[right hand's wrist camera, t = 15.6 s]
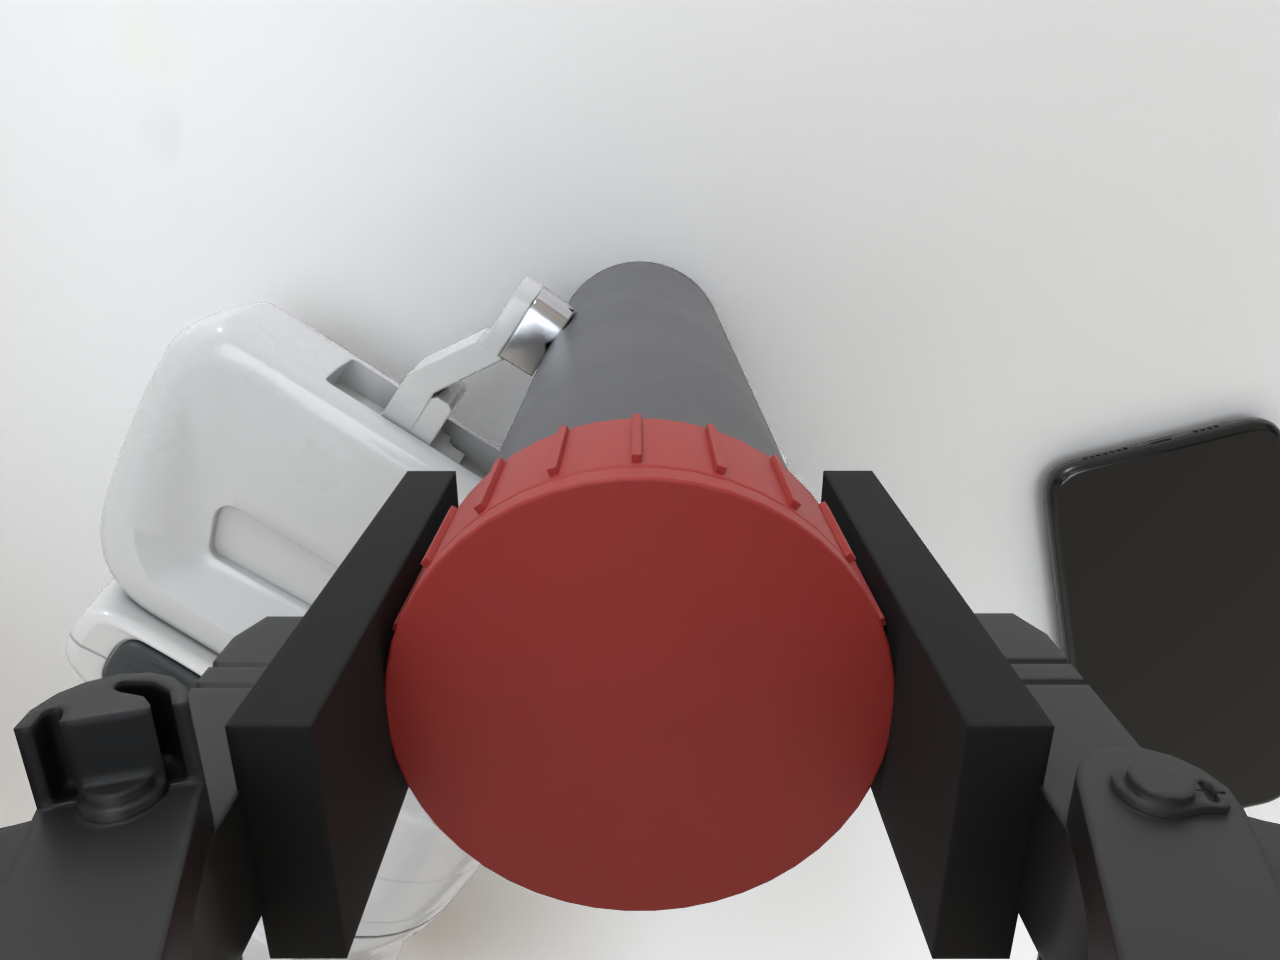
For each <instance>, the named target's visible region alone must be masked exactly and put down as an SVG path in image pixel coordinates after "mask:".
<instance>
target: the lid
mask: <svg viewBox="0 0 1280 960" xmlns="http://www.w3.org/2000/svg"><path fill="white" fill-rule="evenodd" d="M855 560H856V558H855V556H854V554H853V552H852V550H851V548H850V546H849V544H848V543H847V541H846V539H845V537H844V535H843V533H842V531H841V529H840V527H839V526H838V524H837V522H836V520H835V518H834V516H833V514H832V512H831V510H830V508H829V507H828V505H827V504H826V502H825V501H823V502H822V503H820V504H818V502H817V501H816V500H815V498H814V497H813V496H812V494H811V493H810V492H809V491H808V490H807V489H806V488H805V487H804V486H803V485H802V484H801V483H800V482H799V481H798V480H797V479H796V478H795V477H794V476H793V475H792V474H791V473H790V472H789V471H788V470H786V469H785V468H784V465H783V463H782V461H781V459H780V457H778V456H777V455H775V454H773V455H772V456H771V458H770V457H769V456H768V455H766V454H764V453H762V452H761V451H759V450H757V449H755V448H754V447H752V446H750V445H748V444H747V443H745V442H743V441H741V440H738V439H736V438H733V437H731V436H728V435H726V434H723V433H721V432H718V431H717V430H716V427H715V425H712V424H709V423H707V425H706V428H705V427H701V426H697V425H694V424H690V423H686V422H678V421H671V420H663V419H641V414H633V415H632V419H617V420H609V421H601V422H594V423H590V424H586V425H582V426H578V427H575V428H571V429H568V427H567V425H564V426H561V427H559V429H558V432H557V433H556V434H554V435H551V436H549V437H546V438H544V439H541V440H539V441H537V442H535V443H533V444H531V445H530V446H528V447H526V448H524V449H522V450H521V451H519V452H517V453H515V454H514V455H512V456H511V457H509V458H508V459H507V460H505V461H504V459H503V458H502V457H500V458H499V459H497V460H496V461H495V462H494V465H493V467H492V469H491V471H490V472H489V473H488V474H487V475H486V476H485V477H484V478H483V479H482V480H481V481H480V482H479V483H478V484H477V485H476V486H475V487H474V488H473V489H472V490H471V491H470V493H469V494H468V495H467V496H466V498H465V499H464V500H463V502H462V503H461V504H460V506H459V507H458V508H456V507H454V506H453V505H452V506H451V508H450V509H449V510H448V512H447V514H446V516H445V518H444V520H443V522H442V524H441V526H440V527H439V529H438V531H437V533H436V535H435V537H434V539H433V541H432V543H431V545H430V546H429V548H428V550H427V552H426V554H425V556H424V558H423V560H422V562H421V565H422V566H423V567H422V569H421V571H420V573H419V575H418V577H417V579H416V581H415V583H414V585H413V587H412V589H411V590H410V592H409V594H408V596H407V598H406V600H405V602H404V604H403V606H402V608H401V610H400V612H399V614H398V616H397V618H396V620H395V621H394V624H393V628H392V630H393V631H395V633H394V636H393V639H392V641H391V645H390V650H389V655H388V660H387V665H386V670H385V695H386V705H387V714H388V722H389V731H390V738H391V743H392V747H393V751H394V754H395V758H396V760H397V762H398V764H399V767H400V769H401V771H402V774H403V776H404V778H405V780H406V783H407V784H408V786H409V788H410V789H411V791H412V792H413V794H414V796H415V797H416V799H417V801H418V802H419V804H420V805H421V807H422V808H423V809H424V811H425V812H426V813H427V814H428V815H429V817H430V818H431V819H432V820H433V822H434V823H435V824H436V825H437V826H438V828H439V829H440V830H441V831H442V832H443V833H444V834H445V835H446V836H448V837H449V838H450V839H451V840H452V841H453V842H454V843H455V844H456V845H457V846H458V847H459V848H460V849H462V850H463V851H464V852H466V853H467V854H468V855H470V856H471V857H472V858H474V859H475V860H476V861H478V862H479V863H480V864H482V865H483V866H485V867H486V868H488V869H490V870H492V871H493V872H495V873H497V874H499V875H500V876H502V877H504V878H506V879H507V880H509V881H511V882H514V883H516V884H518V885H520V886H523V887H525V888H527V889H530V890H532V891H534V892H536V893H540V894H543V895H546V896H549V897H552V898H555V899H559V900H562V901H565V902H570V903H575V904H579V905H584V906H589V907H594V908H604V909H613V910H623V911H656V910H666V909H676V908H685V907H690V906H695V905H700V904H705V903H710V902H714V901H718V900H721V899H724V898H727V897H730V896H734V895H737V894H740V893H743V892H745V891H748V890H750V889H752V888H754V887H757V886H759V885H761V884H764V883H766V882H768V881H770V880H772V879H774V878H776V877H777V876H779V875H781V874H783V873H784V872H786V871H788V870H790V869H791V868H793V867H795V866H796V865H798V864H799V863H800V862H802V861H803V860H804V859H806V858H807V857H808V856H810V855H811V854H813V853H814V852H815V851H817V850H818V849H819V848H820V847H821V846H822V845H823V844H825V843H826V842H827V841H828V840H829V839H830V838H831V837H832V836H833V835H834V834H835V833H836V832H837V831H838V830H839V829H840V828H841V827H842V826H843V825H844V823H845V822H846V821H847V820H848V819H849V817H850V816H851V815H852V814H853V813H854V811H855V810H856V809H857V808H858V806H859V805H860V803H861V801H862V800H863V798H864V797H865V795H866V793H867V792H868V790H869V789H870V787H871V785H872V784H873V782H874V779H875V777H876V775H877V773H878V770H879V768H880V766H881V764H882V761H883V759H884V756H885V753H886V749H887V746H888V740H889V733H890V725H891V716H892V708H893V699H894V689H895V672H894V667H893V662H892V656H891V651H890V646H889V642H888V639H887V636H886V634H885V631H884V628H883V626H884V625H886V621H885V618H884V616H883V614H882V612H881V610H880V608H879V606H878V604H877V602H876V600H875V598H874V597H873V595H872V593H871V591H870V589H869V587H868V585H867V583H866V581H865V579H864V577H863V575H862V574H861V572H860V570H859V568H858V566H857V564H856V562H855Z"/></svg>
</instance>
